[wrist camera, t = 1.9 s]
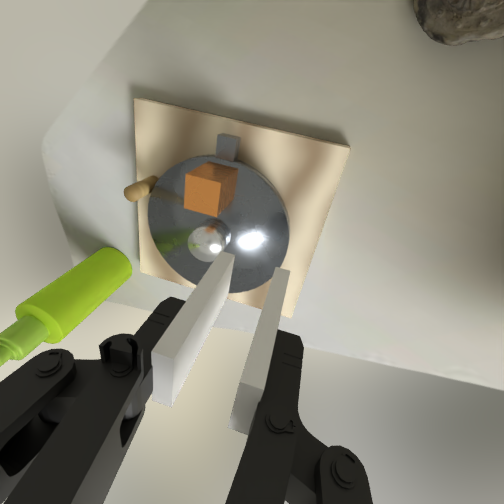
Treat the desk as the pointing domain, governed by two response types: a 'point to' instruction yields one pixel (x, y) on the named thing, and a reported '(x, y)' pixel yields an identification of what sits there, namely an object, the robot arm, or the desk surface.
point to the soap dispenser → (64, 303)
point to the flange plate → (219, 217)
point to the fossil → (460, 20)
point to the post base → (253, 153)
